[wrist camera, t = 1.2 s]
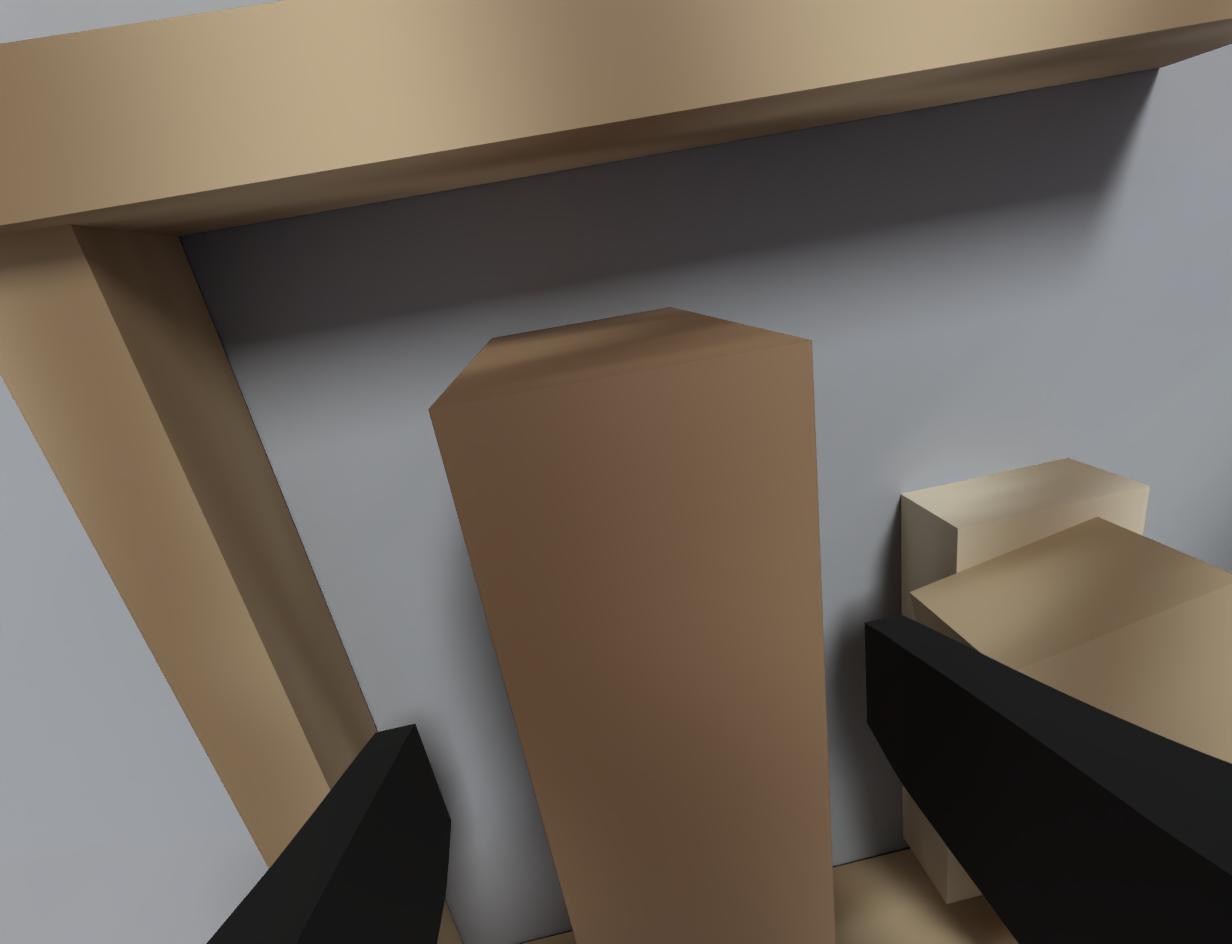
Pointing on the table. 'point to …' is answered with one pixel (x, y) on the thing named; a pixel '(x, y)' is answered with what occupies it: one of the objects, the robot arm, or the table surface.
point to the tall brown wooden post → (657, 616)
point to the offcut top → (1104, 627)
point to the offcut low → (979, 531)
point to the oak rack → (380, 171)
